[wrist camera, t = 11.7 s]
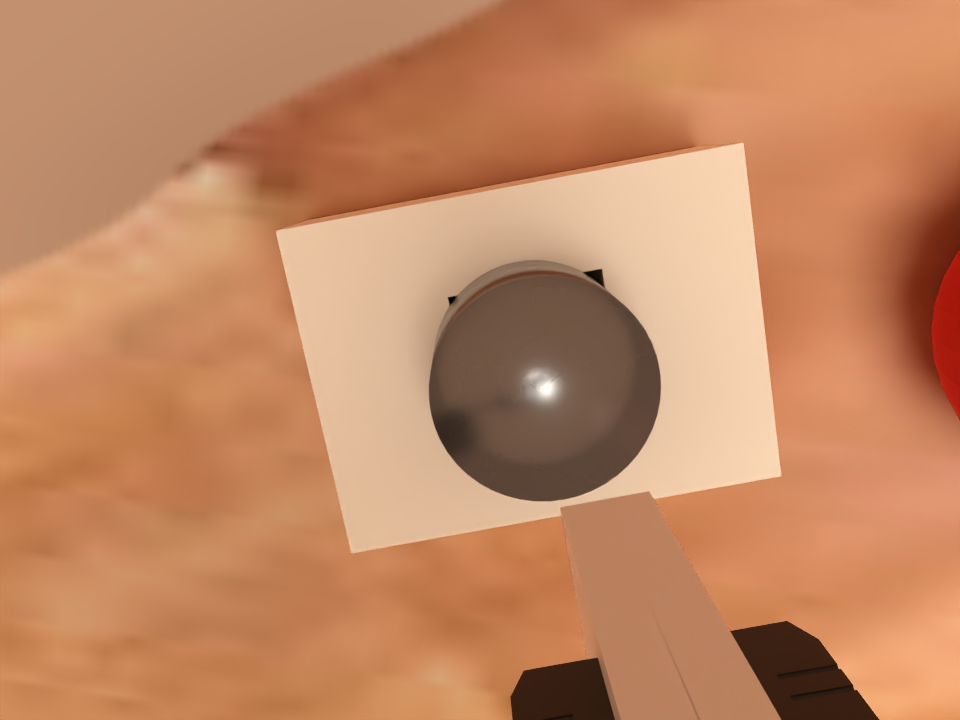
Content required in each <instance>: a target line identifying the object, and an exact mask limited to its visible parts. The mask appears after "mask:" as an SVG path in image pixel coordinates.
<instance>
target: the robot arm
mask: <svg viewBox="0 0 960 720" xmlns="http://www.w3.org/2000/svg"><path fill="white" fill-rule="evenodd" d="M560 510H561V516H562V522H563V527H564V533H565V539H566V544H567V550H568V556H569V561H570V567H571V573H572V578H573V584H574V590H575V595H576V601H577V607H578V613H579V618H580V624H581V630H582V635H583V641H584V647H585V652H586V656H587V660H581V661H575V662H570V663H564V664H559V665H553V666H547V667H542V668H536V669H530V670H525V671H523V673H522V675H521V677H520V679H519V681H518V683H517V685H516V687H515V689H514V691H513V693H512V695H511V706H512V717H513V720H879V719H878V717H877V716H876V715H875V713H874V712H873V711H872V710H871V708H870V707H869V706H868V704H867V703H866V702H865V700H864V699H863V698H862V696H861V695H860V694H859V692H858V691H857V690H854V688H853V684H852V683H851V682H850V680H849V679H848V678H847V676H846V675H845V674H844V672H843V671H842V670H841V669H838V666H837V663H836V662H835V661H834V659H833V658H832V657H831V655H830V654H829V653H828V651H827V650H826V649H825V647H824V646H823V645H822V643H821V642H820V641H819V639H817V638H815V637H814V636H812V635H810V634H808V633H807V632H805V631H803V630H802V629H800V628H798V627H796V626H795V625H793V624H791V623H789V622H788V621H784V622H779V623H773V624H767V625H762V626H756V627H751V628H745V629H739V630H734V631H730V630H729V628H728V627H727V625H726V623H725V621H724V620H723V618H722V616H721V614H720V613H719V611H718V609H717V608H716V606H715V604H714V602H713V601H712V599H711V597H710V595H709V594H708V592H707V590H706V589H705V587H704V585H703V583H702V582H701V580H700V578H699V576H698V575H697V573H696V571H695V570H694V568H693V566H692V564H691V563H690V561H689V559H688V557H687V556H686V554H685V552H684V550H683V549H682V547H681V545H680V544H679V542H678V540H677V538H676V537H675V535H674V533H673V531H672V530H671V528H670V526H669V525H668V523H667V521H666V519H665V518H664V516H663V514H662V512H661V511H660V509H659V507H658V506H657V504H656V502H655V500H654V499H653V497H652V495H651V493H650V492H649V491H647V492H642V493H636V494H631V495H625V496H620V497H614V498H609V499H603V500H598V501H592V502H587V503H581V504H576V505H570V506H565V507H560Z"/></svg>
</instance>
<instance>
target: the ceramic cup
mask: <svg viewBox="0 0 960 720" xmlns="http://www.w3.org/2000/svg"><path fill="white" fill-rule="evenodd" d="M931 334H932V346H933V358H934V362H935V365H936V368H937V372H938V375H939V378H940V382H941V385H942V388H943V390H944V392H945V394H946V396H947V398H948V399H949V401H950V403H951V405H952V407H953V409H954V410H955V412H956V414H957V416H958V418H959V419H960V250H959V251H958V253H957V254H956V255H955V257H954V259H953V261H952V262H951V264H950V266H949V268H948V270H947V272H946V274H945V276H944V277H943V279H942V282H941V286H940V289H939V292H938V295H937V298H936V301H935V304H934V312H933V320H932V328H931Z"/></svg>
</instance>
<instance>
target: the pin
mask: <svg viewBox="0 0 960 720" xmlns="http://www.w3.org/2000/svg"><path fill="white" fill-rule="evenodd" d="M660 396H661V377H660V369H659V364H658V359H657V355H656V353H655V350H654V347H653V344H652V342H651V340H650V338H649V336H648V334H647V332H646V330H645V329H644V327H643V326H642V325H641V323H640V322H639V320H638V319H637V318H636V317H635V315H634V314H633V313H632V312H631V311H630V310H629V309H628V308H627V307H626V306H625V305H624V304H622V303H621V302H620V301H619V300H618V299H617V298H615V297H614V296H613V295H612V294H611V293H610V292H608V291H607V290H606V289H605V288H604V287H603V286H601V285H600V284H599V283H598V282H596V281H595V280H594V279H593V278H591V277H590V276H588V275H586V274H585V273H583V272H581V271H579V270H577V269H575V268H572V267H570V266H567V265H564V264H560V263H557V262H551V261H544V260H527V261H518V262H513V263H509V264H505V265H502V266H500V267H497V268H495V269H492V270H490V271H488V272H486V273H485V274H483V275H481V276H479V277H478V278H476V279H475V280H474V281H472V282H471V283H470V284H468V285H467V286H466V287H465V288H464V289H463V290H462V291H461V292H460V293H459V294H458V296H457V297H456V298H455V299H454V301H453V302H452V303H451V305H450V306H449V308H448V310H447V311H446V313H445V315H444V317H443V319H442V322H441V324H440V326H439V329H438V333H437V337H436V340H435V347H434V353H433V359H432V365H431V372H430V379H429V403H430V411H431V416H432V419H433V423H434V426H435V429H436V431H437V434H438V436H439V438H440V441H441V442H442V444H443V446H444V447H445V449H446V451H447V452H448V454H449V455H450V456H451V458H452V459H453V460H454V461H455V463H456V464H457V465H458V466H459V467H460V468H461V469H462V470H463V471H464V472H465V473H466V474H467V475H469V476H470V477H471V478H473V479H474V480H475V481H477V482H478V483H480V484H481V485H483V486H485V487H487V488H489V489H490V490H492V491H495V492H497V493H500V494H502V495H505V496H508V497H512V498H516V499H520V500H528V501H557V500H565V499H569V498H573V497H577V496H580V495H583V494H585V493H588V492H591V491H593V490H595V489H597V488H599V487H601V486H602V485H604V484H606V483H607V482H609V481H610V480H612V479H613V478H615V477H616V476H617V475H619V474H620V473H621V472H622V471H623V470H624V469H625V468H626V467H627V466H628V465H629V464H630V463H631V462H632V461H633V460H634V459H635V457H636V456H637V455H638V454H639V452H640V451H641V449H642V448H643V446H644V445H645V443H646V441H647V439H648V437H649V435H650V433H651V431H652V429H653V426H654V424H655V421H656V418H657V414H658V409H659V404H660Z"/></svg>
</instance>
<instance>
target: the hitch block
mask: <svg viewBox="0 0 960 720" xmlns="http://www.w3.org/2000/svg"><path fill="white" fill-rule="evenodd" d="M276 235H277V239H278V243H279V248H280V252H281V256H282V260H283V265H284V269H285V273H286V277H287V282H288V286H289V290H290V294H291V299H292V303H293V307H294V312H295V316H296V320H297V324H298V329H299V333H300V337H301V341H302V346H303V350H304V354H305V358H306V363H307V367H308V371H309V375H310V380H311V384H312V388H313V392H314V397H315V401H316V405H317V409H318V414H319V418H320V422H321V426H322V431H323V435H324V439H325V443H326V448H327V452H328V456H329V460H330V465H331V469H332V473H333V477H334V482H335V486H336V490H337V494H338V499H339V503H340V507H341V511H342V516H343V520H344V524H345V528H346V533H347V537H348V541H349V545H350V550H351V553H357V552H363V551H368V550H374V549H379V548H385V547H390V546H396V545H401V544H407V543H413V542H418V541H424V540H429V539H435V538H440V537H446V536H451V535H457V534H463V533H468V532H474V531H479V530H485V529H490V528H496V527H502V526H507V525H513V524H518V523H524V522H529V521H535V520H540V519H546V518H552V517H557V516H561V510H560V507H565V506H570V505H576V504H581V503H587V502H592V501H598V500H603V499H609V498H614V497H620V496H625V495H631V494H636V493H642V492H647V491H649V492H650V493H651V495H652V497H653V499H657V498H663V497H668V496H674V495H679V494H685V493H690V492H696V491H702V490H707V489H713V488H718V487H724V486H729V485H735V484H740V483H746V482H752V481H757V480H763V479H768V478H774V477H779V476H781V469H780V461H779V452H778V443H777V434H776V425H775V416H774V408H773V399H772V390H771V381H770V372H769V363H768V355H767V346H766V337H765V328H764V319H763V311H762V302H761V293H760V284H759V275H758V266H757V258H756V249H755V240H754V231H753V222H752V213H751V205H750V196H749V187H748V178H747V169H746V160H745V152H744V143H733V144H722V145H711V146H700V147H692V148H687V149H682V150H677V151H671V152H666V153H661V154H655V155H650V156H645V157H639V158H634V159H629V160H624V161H618V162H613V163H608V164H602V165H597V166H592V167H586V168H581V169H576V170H571V171H565V172H560V173H555V174H549V175H544V176H539V177H533V178H528V179H523V180H518V181H512V182H507V183H502V184H496V185H491V186H486V187H480V188H475V189H470V190H465V191H459V192H454V193H449V194H443V195H438V196H433V197H427V198H422V199H417V200H412V201H406V202H401V203H396V204H390V205H385V206H380V207H374V208H369V209H364V210H359V211H353V212H348V213H343V214H337V215H332V216H327V217H321V218H316V219H311V220H306V221H303V222H300V223H297V224H294V225H291V226H288V227H285V228H282V229H279V230H277V231H276ZM527 260H544V261H551V262H557V263H560V264H564V265H567V266H570V267H572V268H575V269H577V270H579V271H581V272H583V273H585V274H586V275H588V276H590V277H591V278H593V279H594V280H595V281H596V282H598V283H599V284H600V285H601V286H603V287H604V288H605V289H606V290H607V291H608V292H610V293H611V294H612V295H613V296H614V297H615V298H617V299H618V300H619V301H620V302H621V303H622V304H624V305H625V306H626V307H627V308H628V309H629V310H630V311H631V312H632V313H633V314H634V315H635V317H636V318H637V319H638V320H639V322H640V323H641V325H642V326H643V327H644V329H645V330H646V332H647V334H648V336H649V338H650V340H651V342H652V344H653V347H654V350H655V353H656V355H657V359H658V364H659V369H660V377H661V396H660V404H659V409H658V414H657V418H656V421H655V424H654V426H653V429H652V431H651V433H650V435H649V437H648V439H647V441H646V443H645V445H644V446H643V448H642V449H641V451H640V452H639V454H638V455H637V456H636V457H635V459H634V460H633V461H632V462H631V463H630V464H629V465H628V466H627V467H626V468H625V469H624V470H623V471H622V472H621V473H620V474H619V475H617V476H616V477H615V478H613V479H612V480H610V481H609V482H607V483H606V484H604V485H602V486H601V487H599V488H597V489H595V490H593V491H591V492H588V493H585V494H583V495H580V496H577V497H573V498H569V499H565V500H557V501H528V500H520V499H516V498H512V497H508V496H505V495H502V494H500V493H497V492H495V491H492V490H490V489H489V488H487V487H485V486H483V485H481V484H480V483H478V482H477V481H475V480H474V479H473V478H471V477H470V476H469V475H467V474H466V473H465V472H464V471H463V470H462V469H461V468H460V467H459V466H458V465H457V464H456V463H455V461H454V460H453V459H452V458H451V456H450V455H449V454H448V452H447V451H446V449H445V447H444V446H443V444H442V442H441V441H440V438H439V436H438V434H437V431H436V429H435V426H434V423H433V419H432V416H431V411H430V403H429V379H430V372H431V365H432V359H433V353H434V347H435V340H436V337H437V333H438V329H439V326H440V324H441V322H442V319H443V317H444V315H445V313H446V311H447V310H448V308H449V306H450V305H451V303H452V302H453V301H454V299H455V297H454V296H457V295H458V294H459V293H460V292H461V291H462V290H463V289H464V288H465V287H466V286H467V285H468V284H470V283H471V282H472V281H474V280H475V279H476V278H478V277H479V276H481V275H483V274H485V273H486V272H488V271H490V270H492V269H495V268H497V267H500V266H502V265H505V264H509V263H513V262H518V261H527Z"/></svg>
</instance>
